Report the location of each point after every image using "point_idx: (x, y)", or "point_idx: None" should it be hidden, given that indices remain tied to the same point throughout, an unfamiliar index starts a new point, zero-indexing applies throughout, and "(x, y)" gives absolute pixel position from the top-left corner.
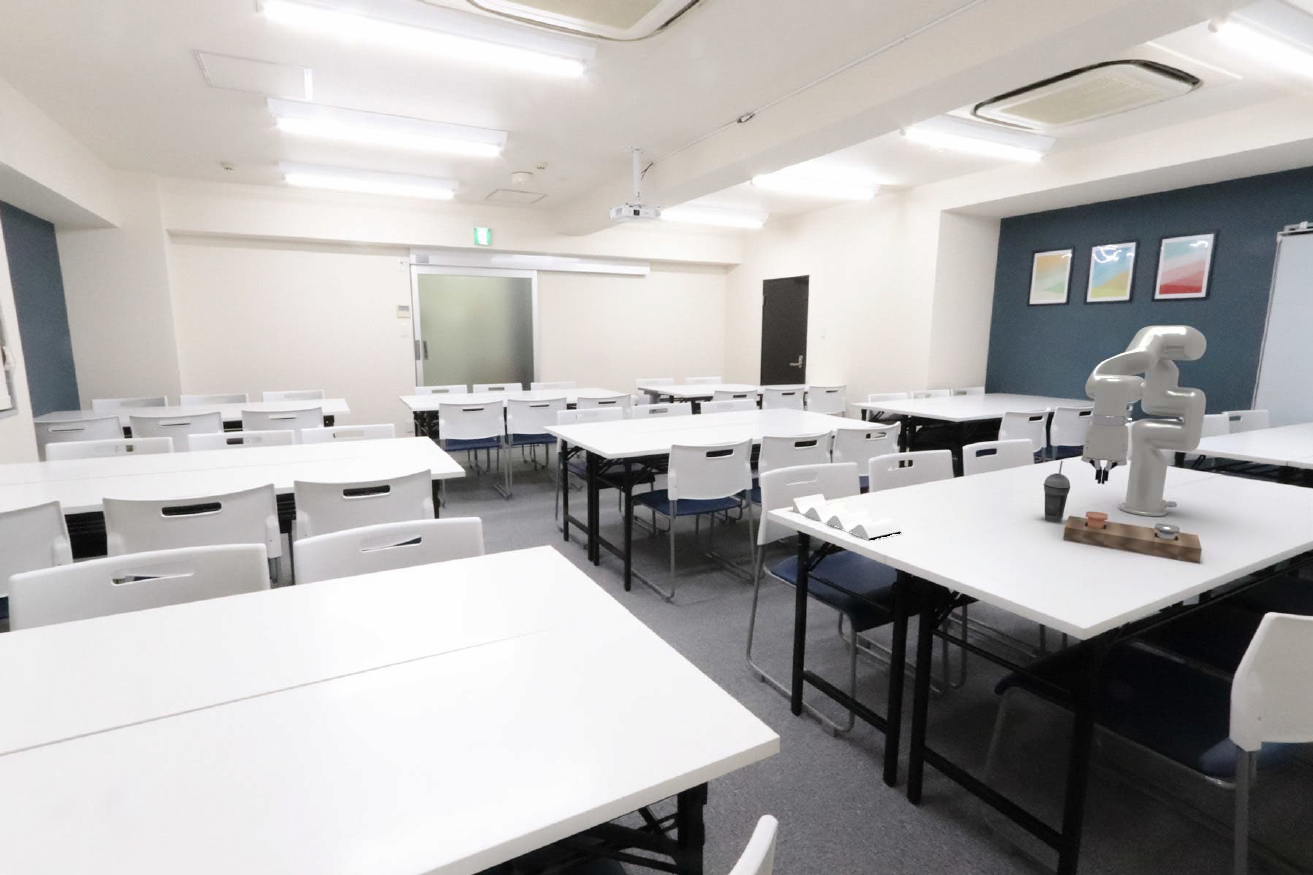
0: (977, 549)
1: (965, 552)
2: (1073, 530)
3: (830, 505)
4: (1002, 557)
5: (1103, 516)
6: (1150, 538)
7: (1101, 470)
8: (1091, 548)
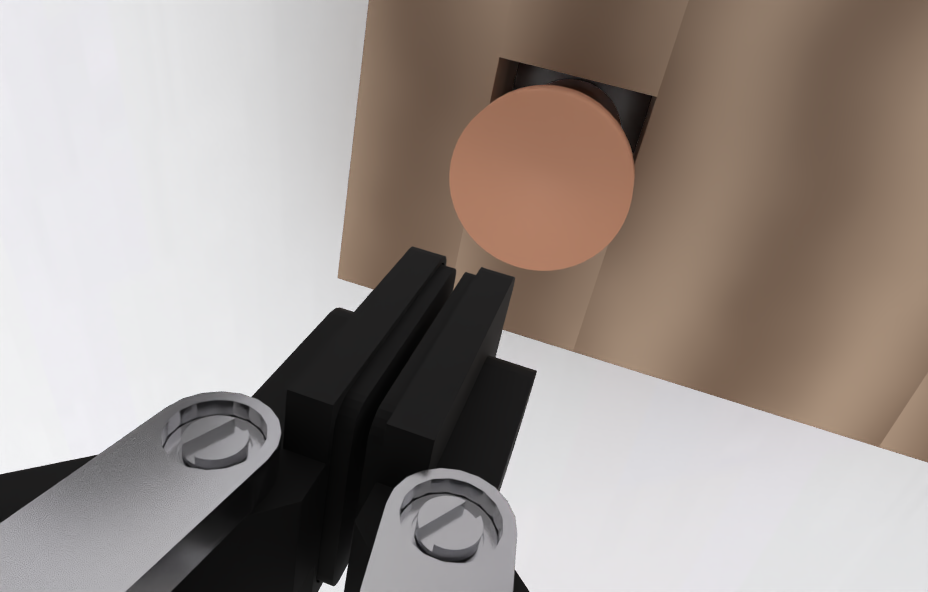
0: None
1: None
2: None
3: None
4: None
5: (577, 255)
6: (885, 382)
7: (325, 545)
8: (509, 350)
